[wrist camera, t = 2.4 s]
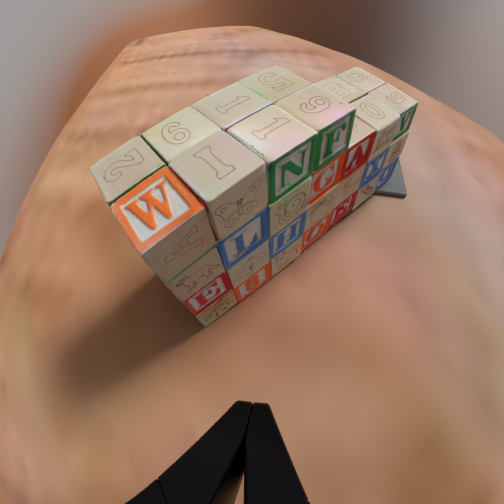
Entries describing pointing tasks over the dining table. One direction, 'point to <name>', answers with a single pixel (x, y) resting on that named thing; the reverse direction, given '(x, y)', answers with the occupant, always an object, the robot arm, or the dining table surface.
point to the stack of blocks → (252, 178)
